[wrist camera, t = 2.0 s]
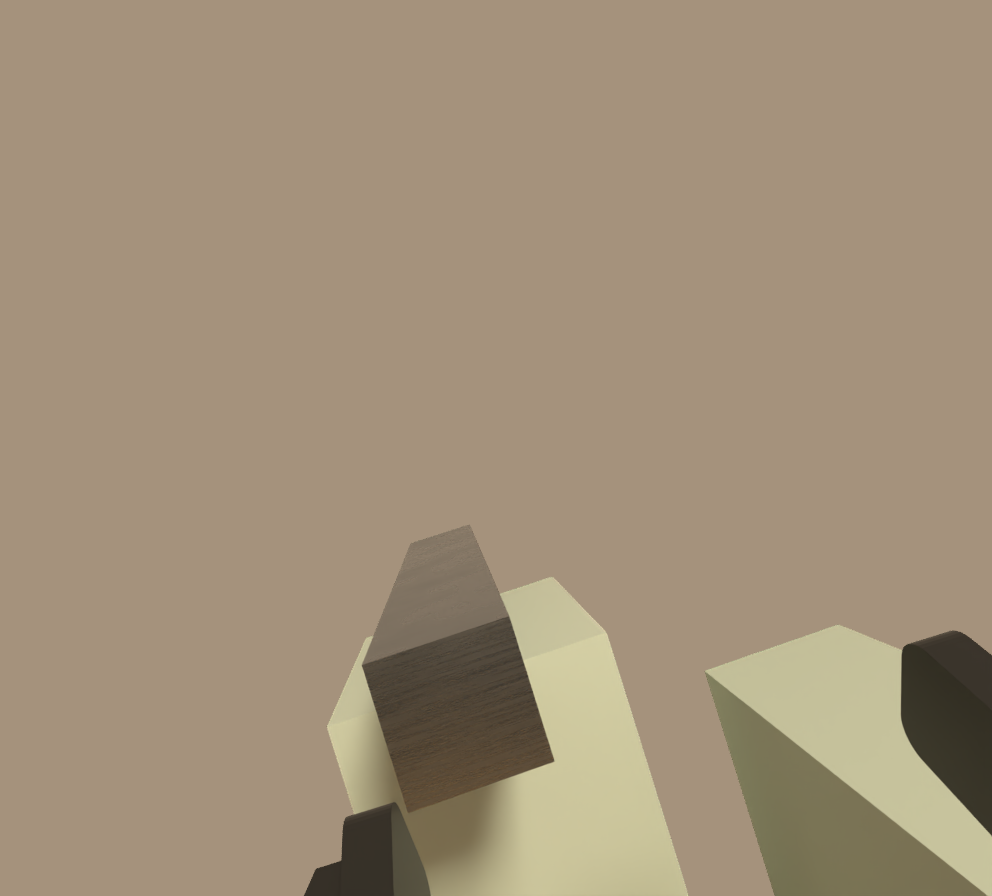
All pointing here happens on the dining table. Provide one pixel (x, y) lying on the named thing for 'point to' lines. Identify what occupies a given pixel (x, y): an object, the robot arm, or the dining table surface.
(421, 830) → the stand
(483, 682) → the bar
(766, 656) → the block
